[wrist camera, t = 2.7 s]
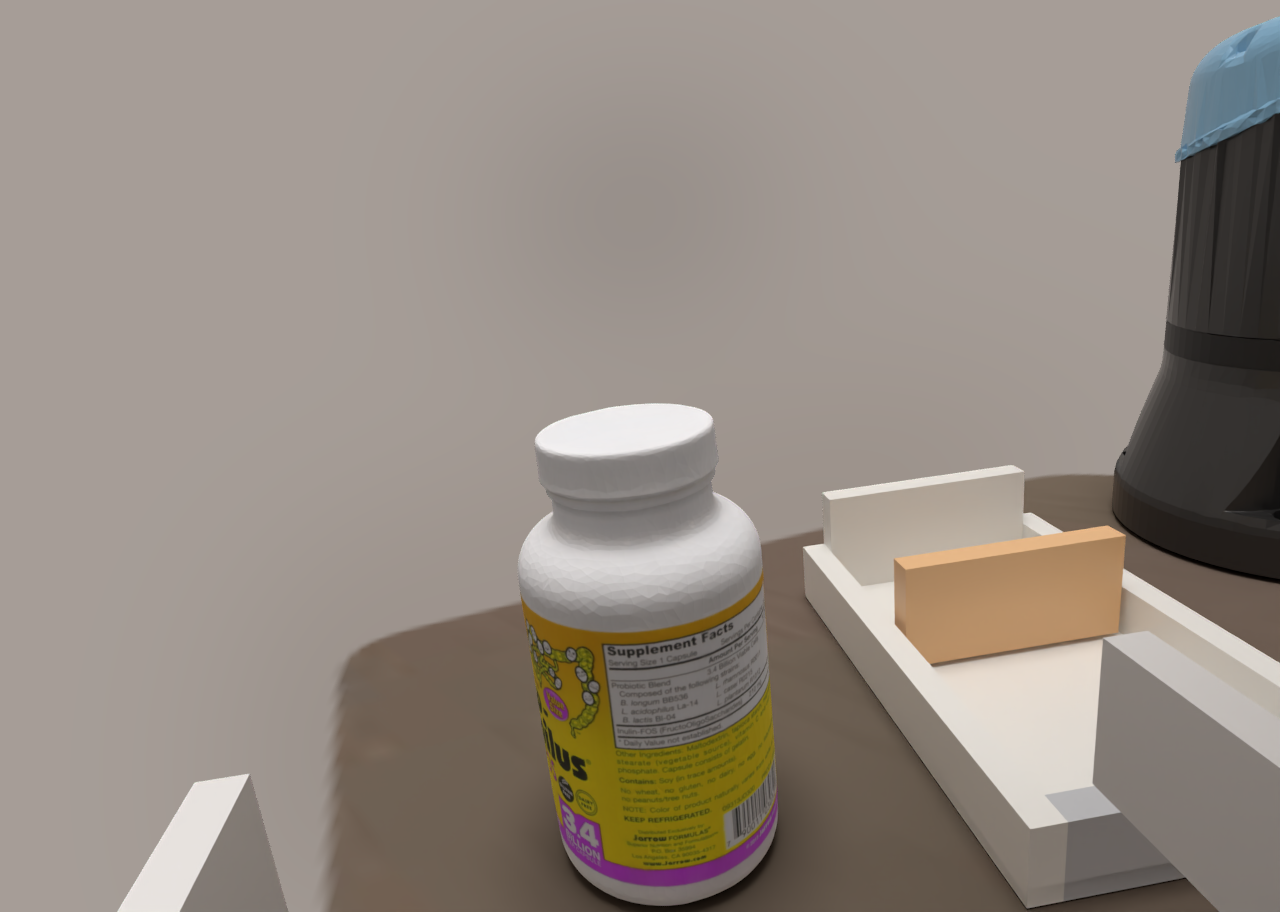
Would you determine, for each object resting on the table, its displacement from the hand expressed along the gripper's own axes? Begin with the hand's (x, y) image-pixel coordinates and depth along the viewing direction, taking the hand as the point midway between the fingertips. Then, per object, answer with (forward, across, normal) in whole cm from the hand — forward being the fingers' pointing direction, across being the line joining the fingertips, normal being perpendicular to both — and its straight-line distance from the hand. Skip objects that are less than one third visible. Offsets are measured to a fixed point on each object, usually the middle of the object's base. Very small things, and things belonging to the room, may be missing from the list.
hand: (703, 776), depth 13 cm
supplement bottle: (+10, 0, -10) cm, 14 cm away
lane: (+14, +14, -10) cm, 22 cm away
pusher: (+16, +14, -9) cm, 23 cm away
